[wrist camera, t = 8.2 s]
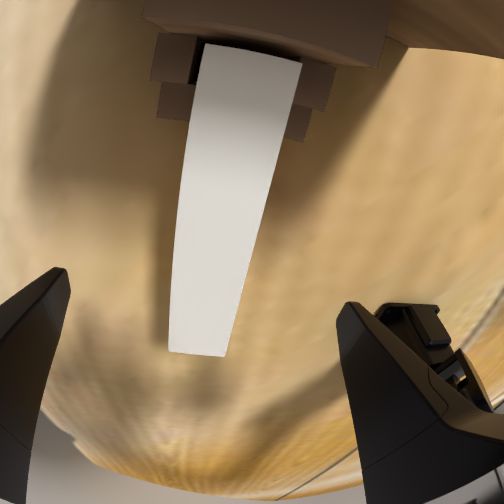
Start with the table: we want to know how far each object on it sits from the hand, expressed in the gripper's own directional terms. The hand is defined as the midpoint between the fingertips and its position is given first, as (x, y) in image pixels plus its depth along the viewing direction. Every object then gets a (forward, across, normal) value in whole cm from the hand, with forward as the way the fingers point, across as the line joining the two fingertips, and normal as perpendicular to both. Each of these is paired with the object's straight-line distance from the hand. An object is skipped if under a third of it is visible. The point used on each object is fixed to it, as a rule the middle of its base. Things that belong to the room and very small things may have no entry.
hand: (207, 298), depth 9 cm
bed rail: (+8, 0, 0) cm, 8 cm away
